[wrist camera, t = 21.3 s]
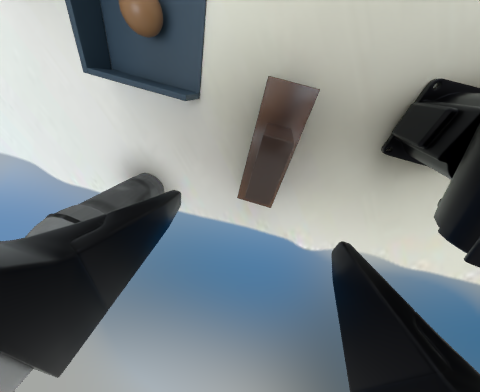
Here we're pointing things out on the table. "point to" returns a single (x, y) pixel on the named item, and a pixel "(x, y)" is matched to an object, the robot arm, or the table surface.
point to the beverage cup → (103, 203)
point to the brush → (275, 138)
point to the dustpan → (142, 46)
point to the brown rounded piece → (142, 16)
